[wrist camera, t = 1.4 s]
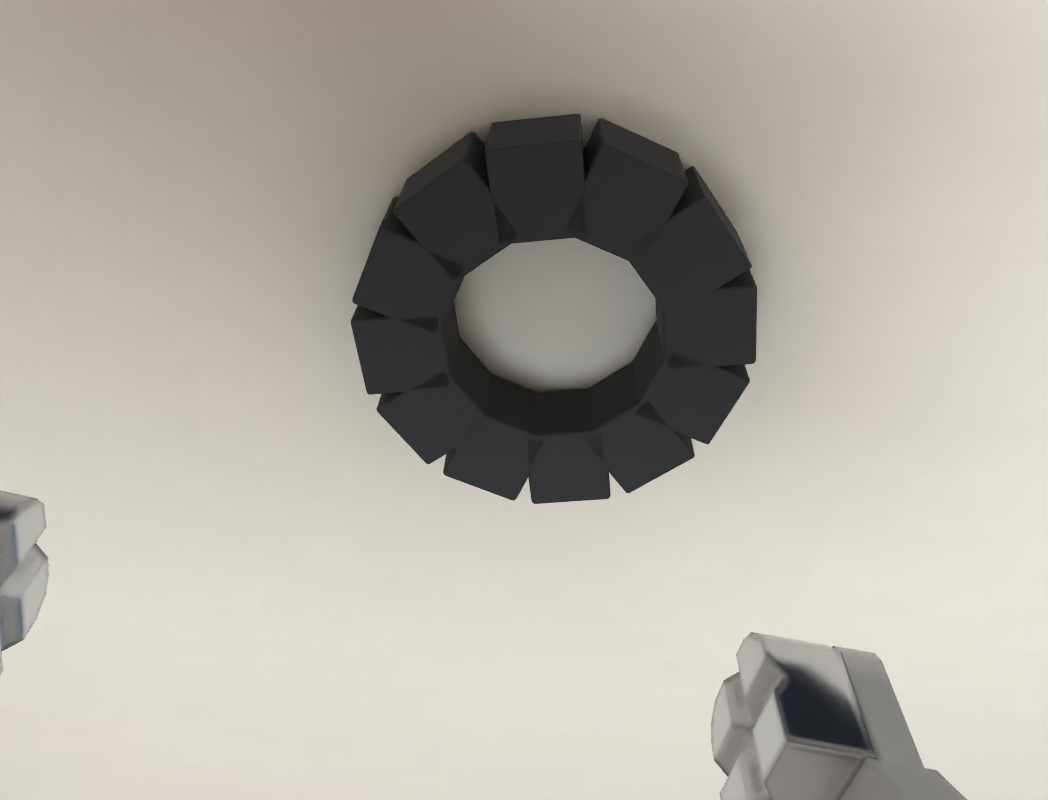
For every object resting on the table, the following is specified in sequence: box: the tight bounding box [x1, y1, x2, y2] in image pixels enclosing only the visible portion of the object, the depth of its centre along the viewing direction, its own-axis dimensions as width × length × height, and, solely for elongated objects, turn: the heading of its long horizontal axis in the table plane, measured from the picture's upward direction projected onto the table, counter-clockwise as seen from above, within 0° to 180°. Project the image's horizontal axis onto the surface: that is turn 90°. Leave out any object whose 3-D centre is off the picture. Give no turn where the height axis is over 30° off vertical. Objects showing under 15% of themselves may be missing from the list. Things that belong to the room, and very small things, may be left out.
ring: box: [351, 114, 757, 504], centre depth 24 cm, size 10×10×2 cm
